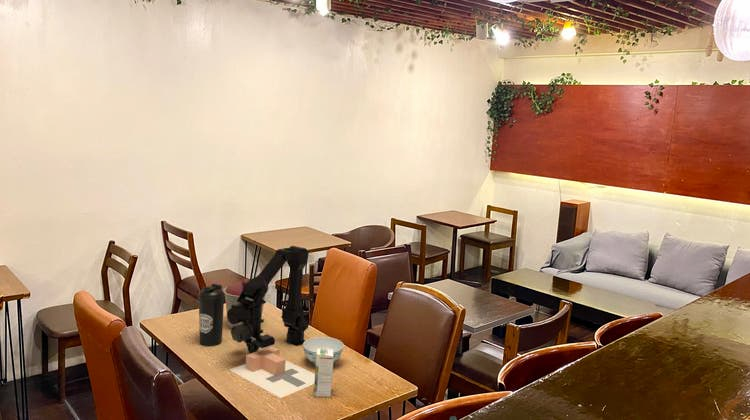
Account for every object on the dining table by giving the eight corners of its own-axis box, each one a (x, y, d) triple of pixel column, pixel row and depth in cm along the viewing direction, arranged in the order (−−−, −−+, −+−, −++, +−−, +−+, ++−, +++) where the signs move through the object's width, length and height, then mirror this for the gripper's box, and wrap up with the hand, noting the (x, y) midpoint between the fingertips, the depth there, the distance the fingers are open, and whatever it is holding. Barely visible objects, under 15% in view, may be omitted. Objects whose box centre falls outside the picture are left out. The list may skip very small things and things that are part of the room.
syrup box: (314, 388, 191) (316, 348, 189) (331, 389, 191) (333, 348, 189) (313, 396, 185) (315, 355, 183) (331, 397, 186) (333, 355, 184)
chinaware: (293, 364, 209) (294, 344, 208) (321, 352, 221) (322, 333, 220) (323, 377, 200) (324, 356, 199) (350, 364, 212) (351, 344, 211)
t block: (271, 358, 211) (272, 346, 210) (293, 369, 203) (294, 356, 203) (245, 368, 202) (246, 355, 201) (267, 379, 194) (267, 365, 193)
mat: (272, 355, 215) (273, 354, 215) (324, 380, 198) (325, 378, 197) (228, 371, 200) (228, 369, 200) (280, 399, 182) (280, 397, 182)
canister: (238, 316, 254) (239, 271, 250) (273, 323, 248) (275, 277, 244) (213, 329, 237) (214, 281, 234) (251, 337, 231) (252, 288, 228)
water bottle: (191, 343, 221) (192, 287, 217) (208, 335, 230) (209, 280, 227) (213, 349, 217) (214, 291, 214) (229, 340, 227) (230, 285, 223)
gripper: (219, 315, 206) (218, 355, 209) (251, 329, 194) (250, 372, 197) (244, 308, 215) (243, 347, 217) (276, 322, 203) (275, 363, 205)
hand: (252, 357), depth 209 cm, fingers closed
